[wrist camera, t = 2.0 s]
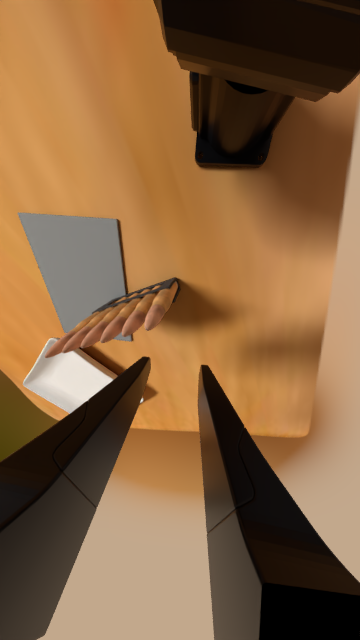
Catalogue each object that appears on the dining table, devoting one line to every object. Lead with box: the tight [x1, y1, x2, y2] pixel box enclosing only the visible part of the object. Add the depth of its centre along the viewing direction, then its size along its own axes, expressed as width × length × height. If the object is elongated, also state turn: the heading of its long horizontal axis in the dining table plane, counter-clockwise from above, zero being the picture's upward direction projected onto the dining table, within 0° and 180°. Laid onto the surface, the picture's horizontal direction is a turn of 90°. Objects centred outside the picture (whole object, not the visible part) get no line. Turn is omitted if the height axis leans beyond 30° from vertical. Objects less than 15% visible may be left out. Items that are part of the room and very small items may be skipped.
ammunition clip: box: [45, 277, 180, 358], centre depth 15 cm, size 11×2×12 cm, turn 109°
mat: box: [18, 213, 132, 341], centre depth 21 cm, size 13×18×1 cm
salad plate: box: [23, 338, 144, 413], centre depth 31 cm, size 21×21×3 cm
